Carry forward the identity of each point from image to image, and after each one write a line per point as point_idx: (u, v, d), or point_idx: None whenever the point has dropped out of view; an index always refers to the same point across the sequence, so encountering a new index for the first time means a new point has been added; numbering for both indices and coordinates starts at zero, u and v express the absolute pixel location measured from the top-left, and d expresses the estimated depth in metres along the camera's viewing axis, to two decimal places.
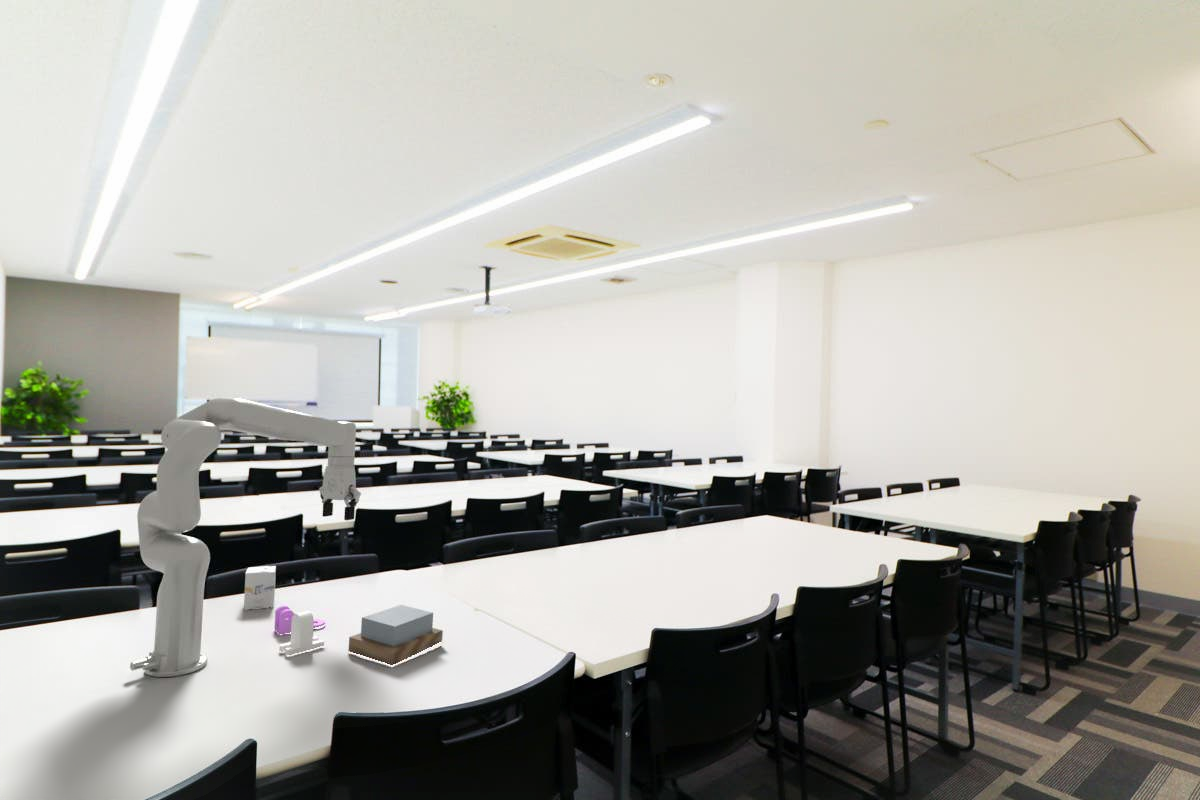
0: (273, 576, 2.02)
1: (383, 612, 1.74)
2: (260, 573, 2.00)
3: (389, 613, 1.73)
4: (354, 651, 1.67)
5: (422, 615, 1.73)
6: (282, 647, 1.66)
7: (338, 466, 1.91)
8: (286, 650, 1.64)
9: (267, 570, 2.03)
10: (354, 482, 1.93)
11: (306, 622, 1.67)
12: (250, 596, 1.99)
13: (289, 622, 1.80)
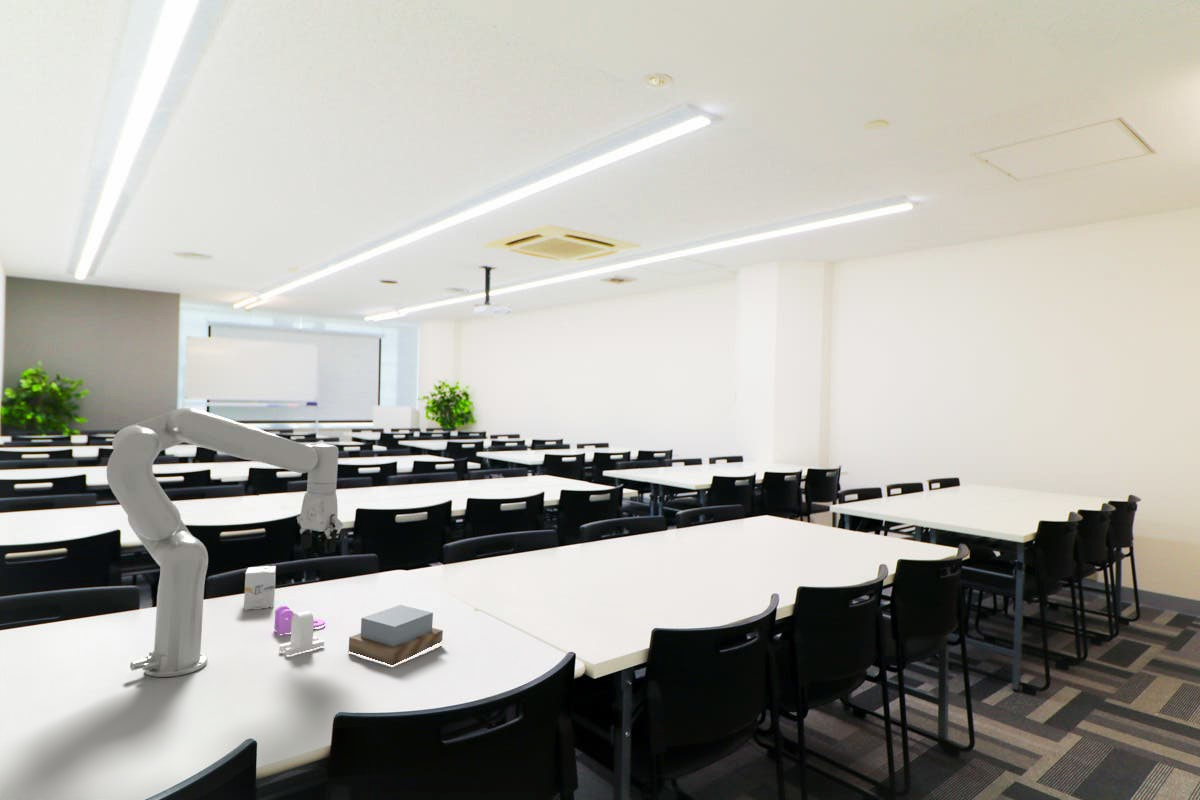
0: (273, 576, 2.02)
1: (383, 612, 1.74)
2: (260, 573, 2.00)
3: (389, 613, 1.73)
4: (354, 651, 1.67)
5: (422, 615, 1.73)
6: (282, 647, 1.66)
7: (318, 494, 1.75)
8: (286, 650, 1.64)
9: (267, 570, 2.03)
10: (336, 511, 1.77)
11: (306, 622, 1.67)
12: (250, 596, 1.99)
13: (289, 622, 1.80)
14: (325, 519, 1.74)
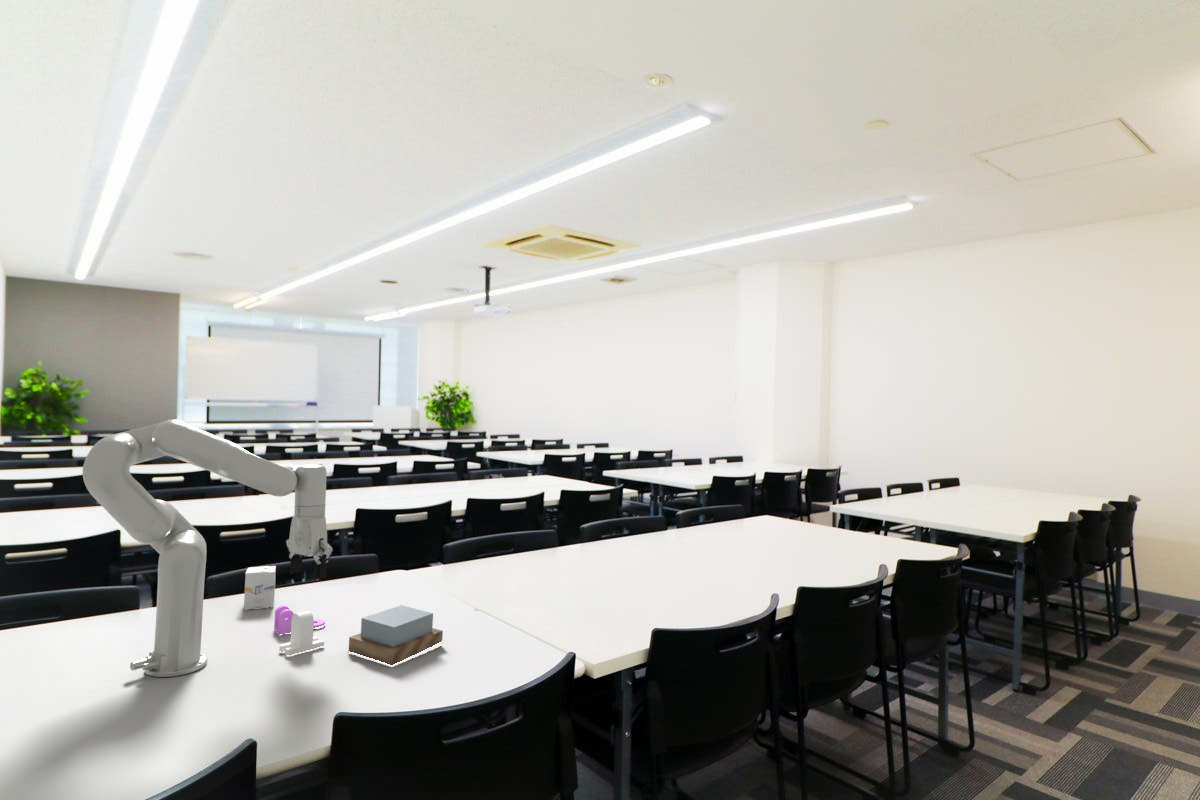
0: (273, 576, 2.02)
1: (383, 612, 1.74)
2: (260, 573, 2.00)
3: (389, 613, 1.73)
4: (354, 651, 1.67)
5: (422, 616, 1.72)
6: (282, 647, 1.66)
7: (306, 517, 1.66)
8: (286, 650, 1.64)
9: (267, 570, 2.03)
10: (325, 535, 1.69)
11: (306, 622, 1.67)
12: (250, 596, 1.99)
13: (289, 622, 1.80)
14: (313, 544, 1.66)
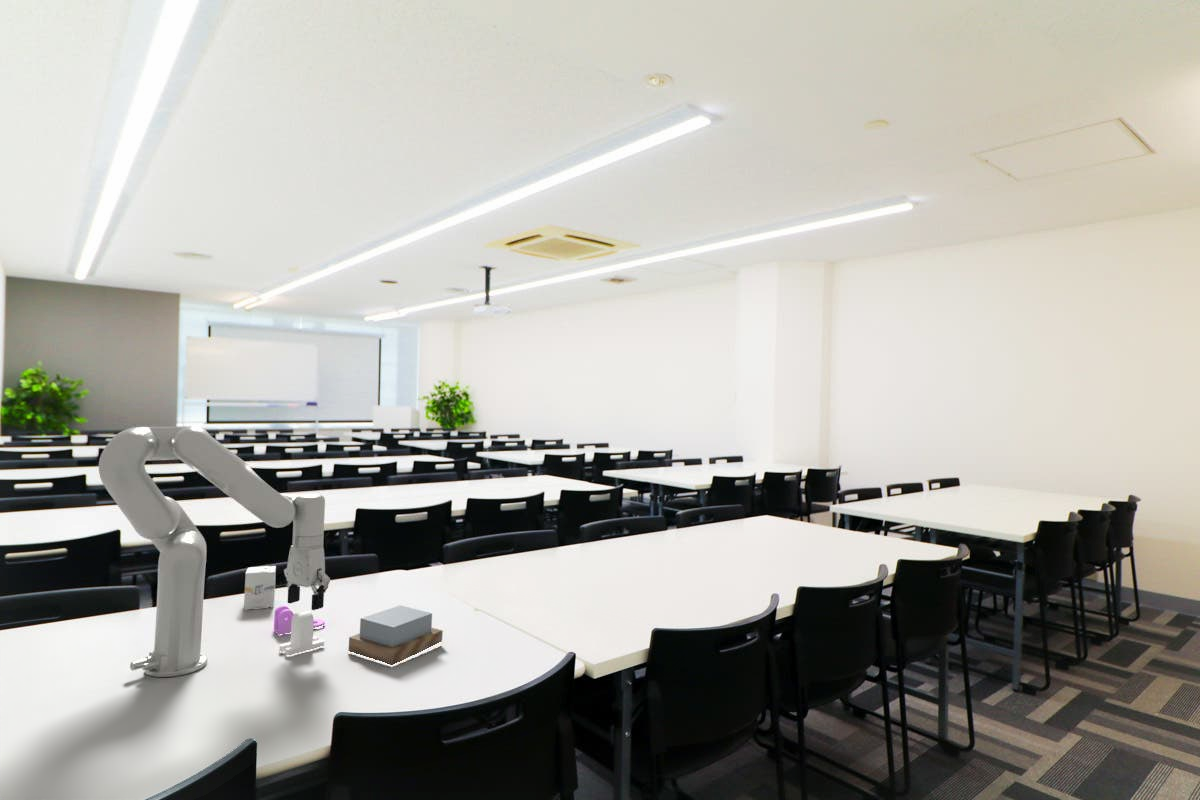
0: (273, 576, 2.02)
1: (382, 612, 1.74)
2: (260, 573, 2.00)
3: (388, 613, 1.73)
4: (354, 651, 1.67)
5: (421, 616, 1.72)
6: (282, 647, 1.66)
7: (304, 548, 1.66)
8: (286, 650, 1.64)
9: (267, 570, 2.03)
10: (323, 565, 1.69)
11: (306, 622, 1.67)
12: (250, 596, 1.99)
13: (288, 622, 1.80)
14: (311, 574, 1.65)
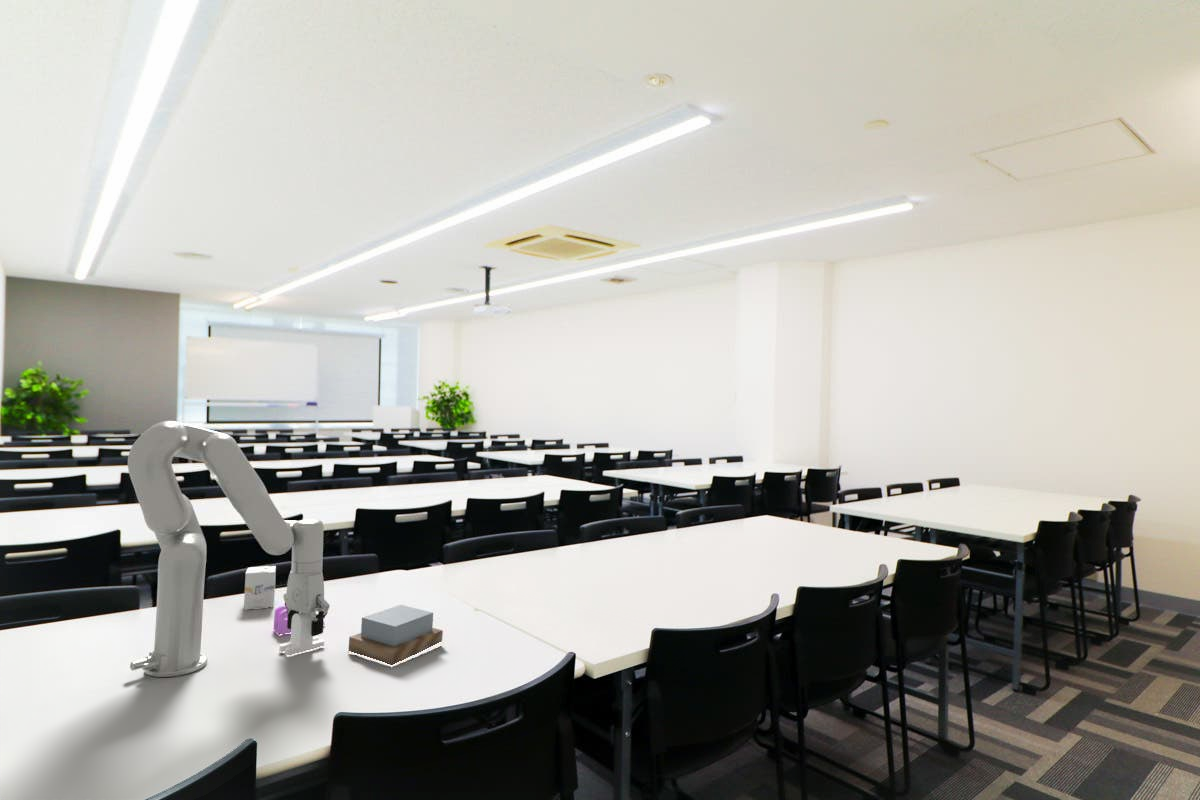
0: (273, 576, 2.02)
1: (383, 612, 1.74)
2: (260, 573, 2.00)
3: (389, 613, 1.73)
4: (354, 651, 1.67)
5: (422, 615, 1.73)
6: (282, 647, 1.66)
7: (303, 574, 1.66)
8: (286, 650, 1.64)
9: (267, 570, 2.03)
10: (322, 590, 1.68)
11: (306, 622, 1.67)
12: (250, 596, 1.99)
13: None
14: (310, 601, 1.65)
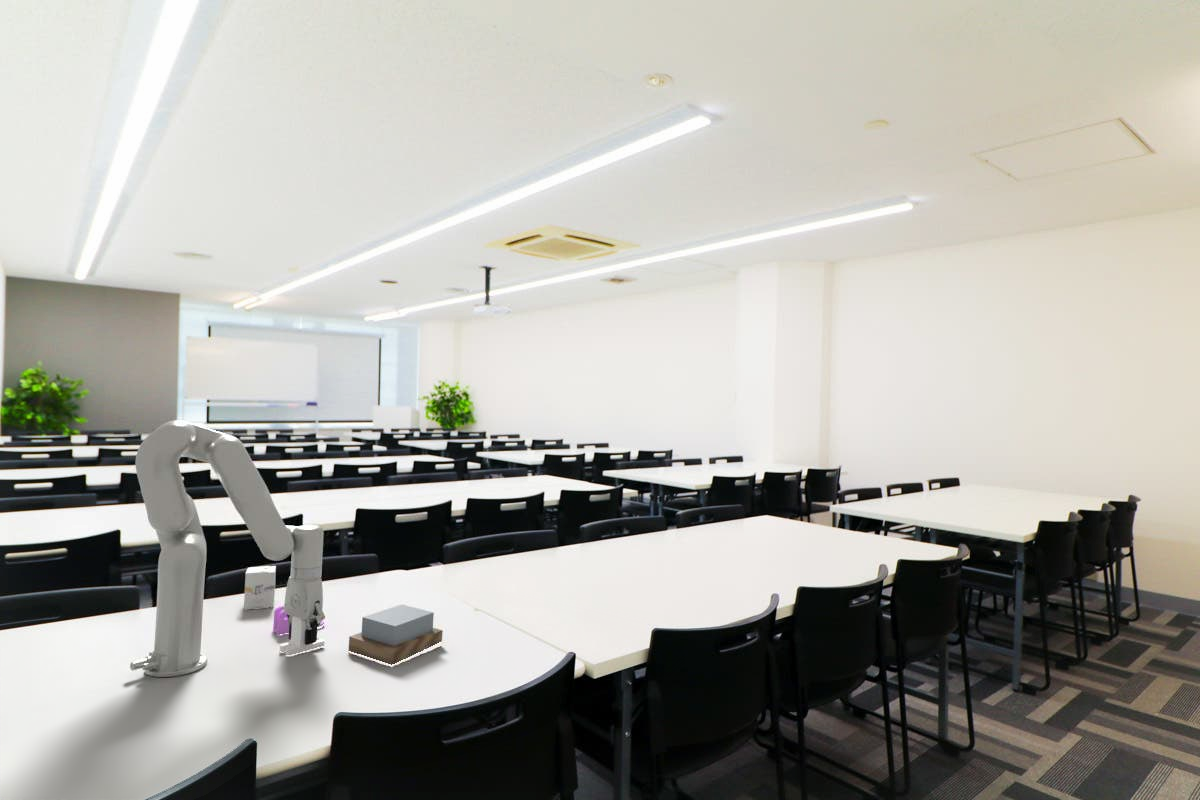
0: (273, 576, 2.02)
1: (384, 611, 1.74)
2: (260, 573, 2.00)
3: (390, 612, 1.74)
4: (354, 651, 1.67)
5: (422, 615, 1.73)
6: (282, 647, 1.66)
7: (302, 580, 1.66)
8: (286, 650, 1.64)
9: (267, 570, 2.03)
10: (321, 597, 1.68)
11: None
12: (250, 596, 1.99)
13: None
14: (309, 607, 1.65)
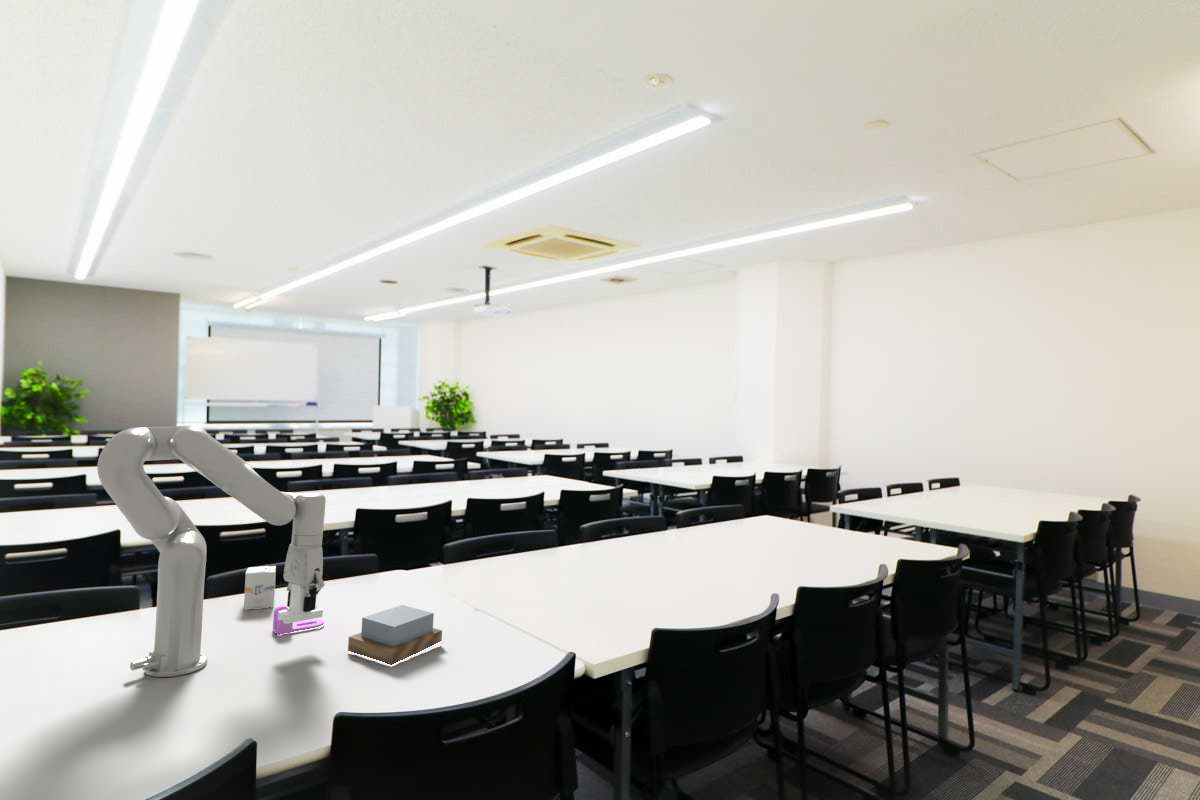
0: (273, 576, 2.02)
1: (384, 612, 1.74)
2: (260, 573, 2.00)
3: (390, 613, 1.74)
4: (353, 651, 1.67)
5: (422, 615, 1.73)
6: (281, 613, 1.66)
7: (302, 547, 1.66)
8: (285, 616, 1.64)
9: (267, 570, 2.03)
10: (321, 564, 1.68)
11: (305, 589, 1.67)
12: (250, 596, 1.99)
13: None
14: (309, 574, 1.65)
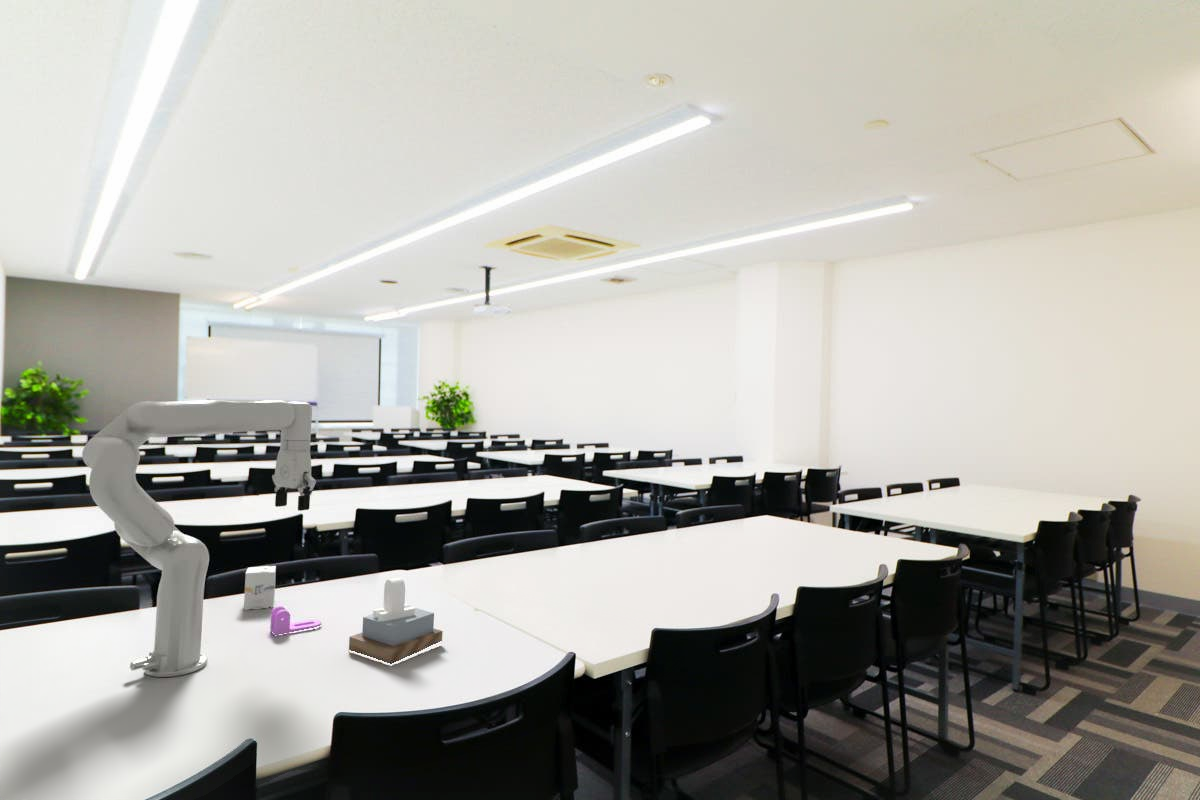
0: (273, 576, 2.02)
1: None
2: (260, 573, 2.00)
3: None
4: None
5: (423, 615, 1.73)
6: (376, 612, 1.70)
7: (291, 451, 1.73)
8: (379, 614, 1.68)
9: (267, 570, 2.03)
10: (309, 469, 1.76)
11: (398, 588, 1.70)
12: (250, 596, 1.99)
13: (285, 622, 1.80)
14: (298, 476, 1.72)
